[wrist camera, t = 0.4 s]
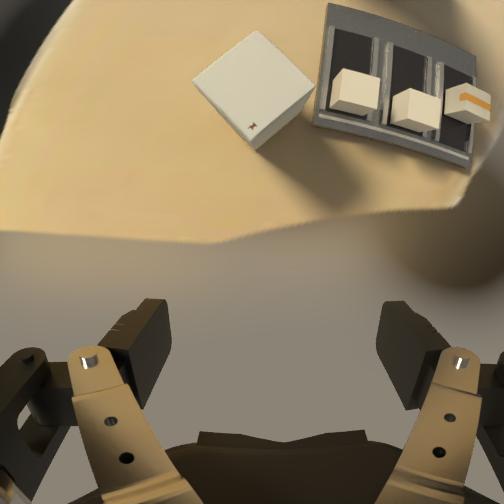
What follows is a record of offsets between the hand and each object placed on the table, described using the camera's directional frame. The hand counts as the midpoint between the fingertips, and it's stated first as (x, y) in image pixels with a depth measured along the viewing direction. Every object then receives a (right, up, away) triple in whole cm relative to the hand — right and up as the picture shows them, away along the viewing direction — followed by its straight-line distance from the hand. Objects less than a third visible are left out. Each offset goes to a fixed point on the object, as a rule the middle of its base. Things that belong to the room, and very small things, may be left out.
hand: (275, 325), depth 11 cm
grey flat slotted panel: (+18, +24, +21) cm, 37 cm away
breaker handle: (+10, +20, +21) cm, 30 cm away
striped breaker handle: (+25, +21, +20) cm, 38 cm away
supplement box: (0, +19, +23) cm, 30 cm away
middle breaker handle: (+18, +19, +21) cm, 33 cm away
